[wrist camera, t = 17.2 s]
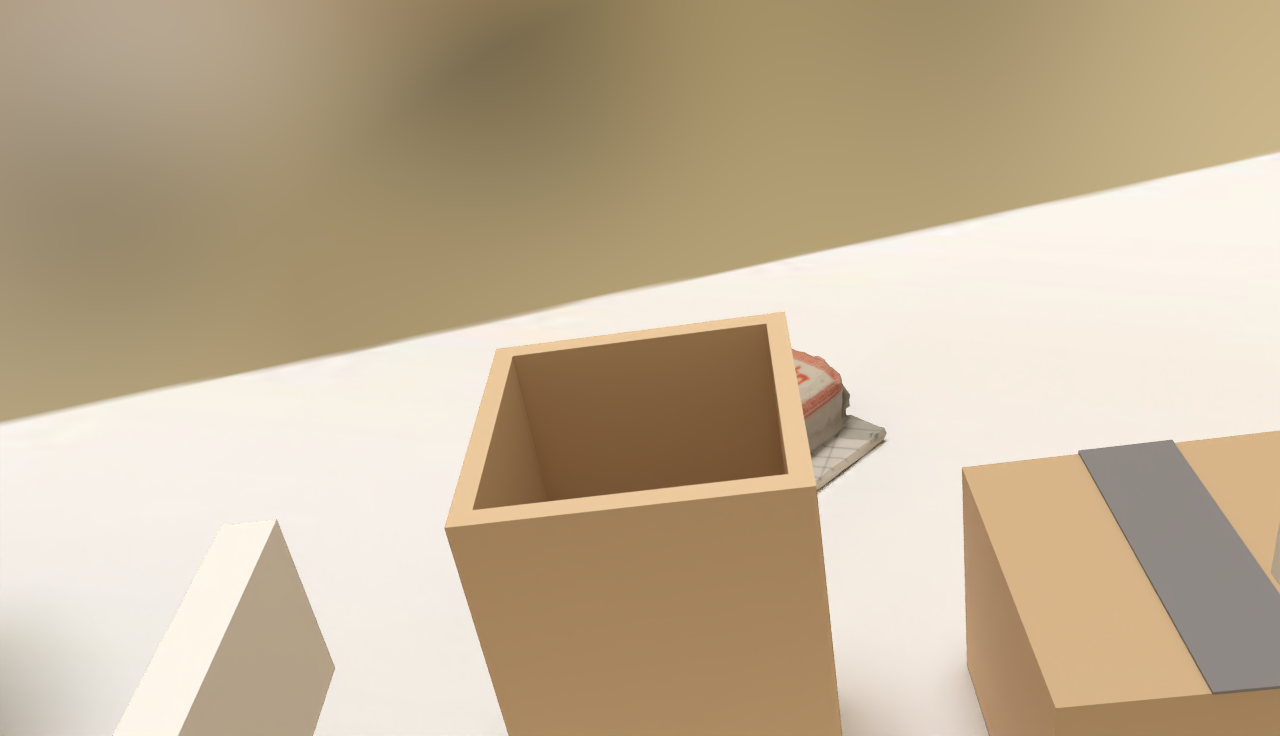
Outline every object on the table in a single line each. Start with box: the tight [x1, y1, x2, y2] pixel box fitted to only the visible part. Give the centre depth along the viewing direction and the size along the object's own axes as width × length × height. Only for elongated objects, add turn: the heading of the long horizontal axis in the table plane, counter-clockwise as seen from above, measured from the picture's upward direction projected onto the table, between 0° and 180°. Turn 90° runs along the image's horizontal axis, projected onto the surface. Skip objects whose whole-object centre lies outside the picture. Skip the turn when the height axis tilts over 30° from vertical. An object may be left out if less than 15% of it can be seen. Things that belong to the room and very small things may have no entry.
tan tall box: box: [445, 312, 842, 736], centre depth 35 cm, size 9×9×16 cm
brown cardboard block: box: [962, 431, 1280, 736], centre depth 35 cm, size 11×11×9 cm
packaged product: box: [791, 348, 886, 490], centre depth 53 cm, size 18×5×10 cm
